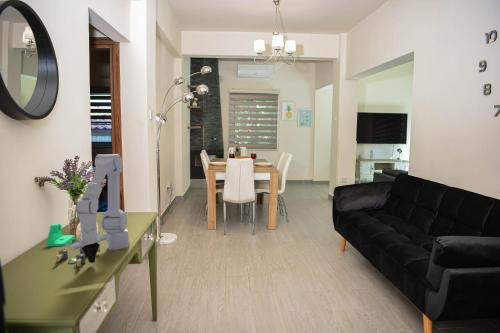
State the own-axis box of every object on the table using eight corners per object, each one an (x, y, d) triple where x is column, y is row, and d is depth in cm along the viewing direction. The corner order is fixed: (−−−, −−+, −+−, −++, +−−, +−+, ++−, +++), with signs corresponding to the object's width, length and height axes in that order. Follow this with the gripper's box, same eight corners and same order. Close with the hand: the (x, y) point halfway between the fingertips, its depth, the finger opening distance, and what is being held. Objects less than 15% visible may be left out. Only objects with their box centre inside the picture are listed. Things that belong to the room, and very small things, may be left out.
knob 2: (77, 262, 138) (76, 254, 138) (85, 261, 139) (85, 253, 139) (74, 270, 131) (73, 261, 130) (83, 268, 132) (82, 260, 131)
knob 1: (61, 257, 144) (60, 249, 143) (69, 256, 144) (68, 248, 144) (53, 265, 136) (52, 256, 136) (61, 264, 137) (60, 256, 136)
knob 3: (80, 258, 143) (79, 250, 142) (81, 255, 146) (80, 247, 145) (100, 255, 145) (99, 247, 145) (100, 252, 148) (99, 244, 148)
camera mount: (63, 248, 158) (61, 227, 157) (47, 249, 158) (44, 228, 156) (75, 240, 170) (74, 220, 169) (60, 240, 170) (58, 220, 168)
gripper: (100, 222, 141) (102, 253, 143) (65, 232, 129) (68, 266, 131) (110, 225, 137) (112, 257, 139) (74, 235, 125) (78, 270, 127)
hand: (91, 262), depth 134 cm, fingers closed
